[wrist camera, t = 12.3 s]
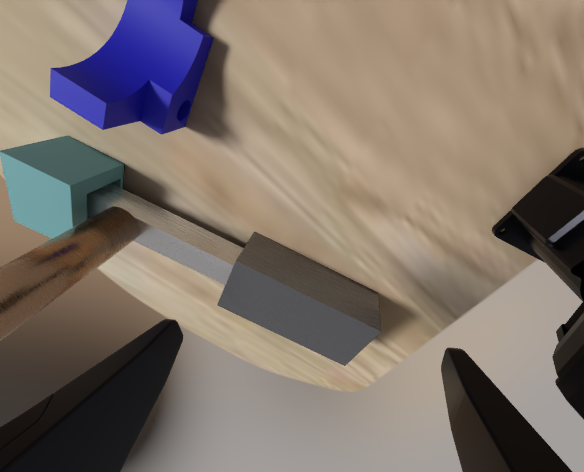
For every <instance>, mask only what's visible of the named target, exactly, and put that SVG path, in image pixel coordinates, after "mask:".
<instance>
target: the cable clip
mask: <svg viewBox="0 0 584 472" xmlns="http://www.w3.org/2000/svg"><path fill="white" fill-rule="evenodd" d="M197 1H198V0H127V4H126V7H125V10H124V13H123V15H122V18H121V20H120V22H119V24H118V26H117V28H116V30H115V31H114V33H113V34H112V36H111V37H110V39H109V40H108V41H107V42H106V43H105V45H104V46H103V47H102V48H101V49H100V50H98V51H97V52H96V53H95V54H93V55H92V56H91V57H89V58H87V59H86V60H84V61H82V62H79V63H77V64H74V65H71V66H67V67H61V68H51V81H50V97H51V98H53V99H54V100H56V101H57V102H59V103H61V104H62V105H64V106H65V107H67V108H69V109H70V110H72V111H74V112H75V113H77V114H78V115H80V116H82V117H83V118H85V119H86V120H88V121H90V122H91V123H93V124H94V125H96V126H98V127H99V128H101V129H102V130H104V129H108V128H112V127H116V126H121V125H125V124H129V123H133V122H138V121H141V122H143V123H144V124H146V125H147V126H149V127H150V128H152V129H154V130H155V131H157V132H158V133H160V134H164V133H168V132H171V131H174V130H177V129H180V128H183V127H185V125H186V122H187V119H188V116H189V113H190V110H191V106H192V103H193V100H194V97H195V94H196V91H197V88H198V85H199V82H200V79H201V75H202V72H203V69H204V66H205V63H206V60H207V57H208V54H209V51H210V48H211V44H212V41H213V37H211V36H210V35H208V34H207V33H206V32H204V31H203V30H201V29H200V28H198V27H197V26H196V25H194V24H193V23H192V20H193V16H194V12H195V9H196V5H197Z"/></svg>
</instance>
